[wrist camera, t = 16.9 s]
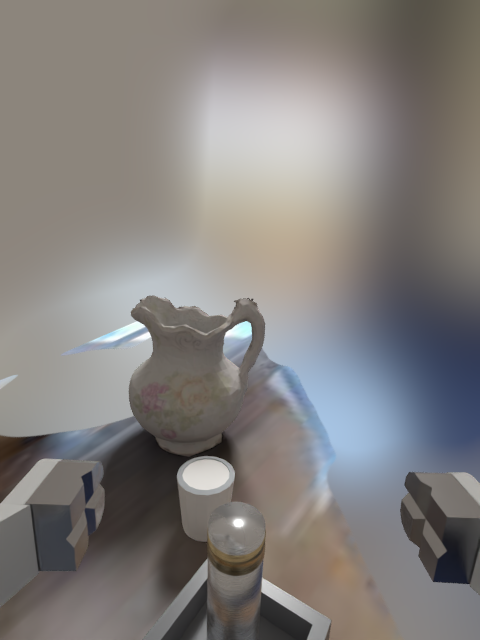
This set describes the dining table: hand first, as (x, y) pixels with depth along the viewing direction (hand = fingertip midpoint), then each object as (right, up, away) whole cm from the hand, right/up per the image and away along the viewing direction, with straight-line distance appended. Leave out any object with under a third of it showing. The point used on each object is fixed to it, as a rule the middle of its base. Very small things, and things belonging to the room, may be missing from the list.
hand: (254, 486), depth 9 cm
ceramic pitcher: (-8, -16, +51) cm, 54 cm away
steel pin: (-1, -23, +18) cm, 30 cm away
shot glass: (-5, -21, +33) cm, 39 cm away
